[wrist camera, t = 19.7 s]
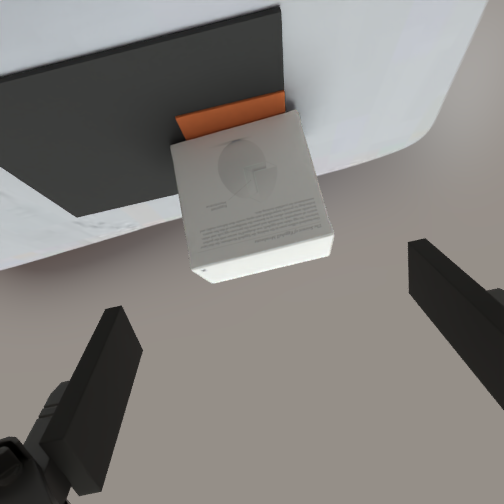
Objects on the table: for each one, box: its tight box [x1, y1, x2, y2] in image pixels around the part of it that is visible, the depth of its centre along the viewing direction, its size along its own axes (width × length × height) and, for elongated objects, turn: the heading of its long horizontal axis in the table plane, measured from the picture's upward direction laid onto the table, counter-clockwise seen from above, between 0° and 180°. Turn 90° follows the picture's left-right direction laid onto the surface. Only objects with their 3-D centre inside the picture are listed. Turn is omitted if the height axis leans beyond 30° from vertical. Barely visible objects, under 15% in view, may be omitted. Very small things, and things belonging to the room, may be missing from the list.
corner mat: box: [0, 7, 285, 217], centre depth 28 cm, size 22×17×1 cm
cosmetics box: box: [170, 110, 334, 284], centre depth 29 cm, size 10×6×10 cm, turn 100°
